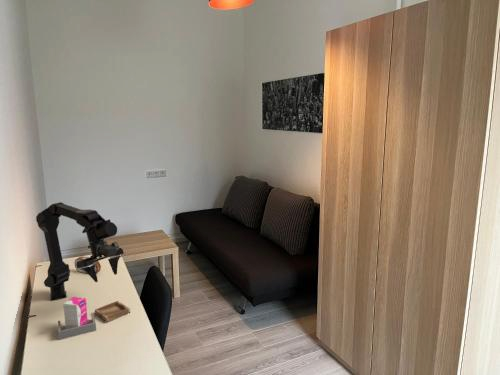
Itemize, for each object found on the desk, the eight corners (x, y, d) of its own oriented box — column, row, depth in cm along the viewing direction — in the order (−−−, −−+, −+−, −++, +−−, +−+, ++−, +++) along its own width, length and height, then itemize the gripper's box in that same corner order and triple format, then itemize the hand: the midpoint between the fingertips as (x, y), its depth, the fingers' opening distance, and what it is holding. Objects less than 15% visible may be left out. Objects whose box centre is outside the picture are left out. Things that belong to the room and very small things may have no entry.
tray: (95, 314, 152) (94, 309, 152) (117, 305, 159) (117, 300, 159) (106, 322, 145) (106, 318, 145) (130, 312, 153) (129, 308, 152)
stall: (58, 328, 142) (57, 320, 142) (94, 319, 148) (93, 312, 147) (59, 339, 135) (58, 332, 134) (96, 330, 140) (95, 323, 140)
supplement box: (79, 333, 139) (76, 305, 136) (65, 331, 140) (62, 303, 138) (88, 325, 144) (86, 297, 142) (75, 323, 145) (72, 296, 143)
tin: (101, 273, 193) (100, 258, 191) (97, 276, 190) (96, 260, 188) (78, 270, 197) (77, 255, 196) (74, 272, 195) (72, 257, 193)
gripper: (87, 243, 139) (98, 283, 138) (127, 232, 155) (137, 268, 154) (70, 248, 145) (81, 287, 144) (110, 237, 161) (120, 272, 160)
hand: (106, 278), depth 151 cm, fingers open, 9 cm apart
